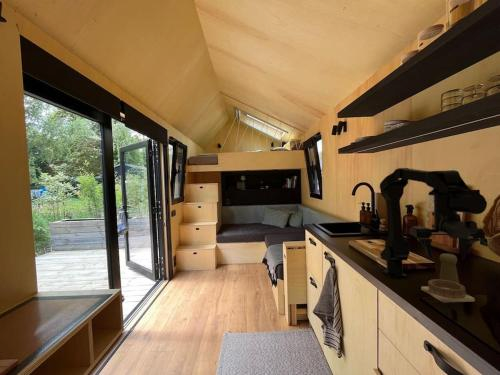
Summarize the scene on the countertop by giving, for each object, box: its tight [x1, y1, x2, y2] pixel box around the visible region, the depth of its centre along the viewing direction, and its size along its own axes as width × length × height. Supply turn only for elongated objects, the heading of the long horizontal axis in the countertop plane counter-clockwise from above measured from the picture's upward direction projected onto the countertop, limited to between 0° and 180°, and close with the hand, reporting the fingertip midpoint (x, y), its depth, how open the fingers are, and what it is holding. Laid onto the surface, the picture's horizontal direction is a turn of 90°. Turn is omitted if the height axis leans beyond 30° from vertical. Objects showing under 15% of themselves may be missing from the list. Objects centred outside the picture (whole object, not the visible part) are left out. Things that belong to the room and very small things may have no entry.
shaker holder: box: [420, 278, 475, 303], centre depth 84 cm, size 10×10×4 cm
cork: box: [438, 253, 460, 284], centre depth 93 cm, size 6×6×11 cm
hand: (445, 258), depth 80 cm, fingers open, 9 cm apart
